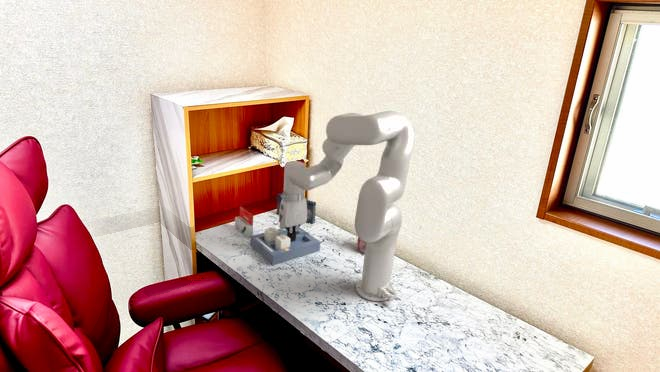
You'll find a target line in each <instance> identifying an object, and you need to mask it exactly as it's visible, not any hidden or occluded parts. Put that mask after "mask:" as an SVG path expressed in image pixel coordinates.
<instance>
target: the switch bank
mask: <svg viewBox="0 0 660 372" xmlns="http://www.w3.org/2000/svg"><path fill="white" fill-rule="evenodd" d="M276 229H277V230H278V231H279V236H280V234H282V235H284V234H285V235H286V236H287V230H286V229H281V228H276ZM264 237H265V232H262V233H257V234H253V236H250V238H249V239H250V243H249V246H250V247H251V248H252V249H254V250H255V251H256V252H257V253H258V254H259V255H261V257H263V258H264V259H265V260H266V261H267V262H268V263H270V264H271V265H272V266H276V265H278V264H282V263H285V262H288V261H291V260H294V259H297V258H301V257H304V256H308V255H311V254H315V253H318V252H320V251H321V241H320V240H319V239H318V238H316V237H314V236H313V235H312V234H310V233H309V232H308V231H306V230H304V229H303V228H302V227H301V226H300V227H299V228H298V231H296V241H293V242H291V241H290V247H287V248H284V249H281V250H276V249H275V241H271V242H267V243H266V242H265V241H264Z"/></svg>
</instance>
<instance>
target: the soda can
mask: <svg viewBox="0 0 660 372" xmlns="http://www.w3.org/2000/svg"><path fill="white" fill-rule="evenodd" d="M356 245H357V246H356V247H357V248H356V249H357V251H359V252H360V253H362V254H363V255H365V247H366V242H364V241H362V240H361V239H360V238H359V237H358V236H357V244H356Z"/></svg>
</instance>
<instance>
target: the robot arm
mask: <svg viewBox="0 0 660 372" xmlns="http://www.w3.org/2000/svg"><path fill="white" fill-rule="evenodd" d="M325 128H326V129H325V135H326V138H325V140H324V141H323V143H322V145H321V148H322V152H323V153H324V155H325V156H324V157H323V159H322V160H321V161H320V162H319V163H318V164H314V165H311V166H307V167H306V165H305V163H304V162H302V161H298V160H290V161H287V162H286V163H285V164H284V171H283V191H282V193H281V194H282V195H281V198H282V201H281V204H280V210H279V215H278V223H279V225H278V227H279V228H278V229H286V230H287V236H288V237H289V238H290V241H291V242H293V241H296V231H298V228H299V227H300V228H301V225H304V224H306V223H305V222H306V221H307V202H306V200H307V198H306V197H305V191H312V190H313V189H317V188H318V187H320V186H324V185H326V184H328V183H329V182H330V181H332V179H334V178H335V176H336V175H337V174H338V173H339V172H340V171H341V169H342V167H343V166H344V165H343V164H344V161H345V158H346V157H347V155H349V153H350V151H352V150H353V148H354V147H355V146H374V145H379V144H381V143H382V144H383V143H385V142H386V143H385V147H384V149H383V151H382V154H381V158H380V163H379V169H378V172H377V174H376V175H375V176H373V177H370V178H368V179H367V180H366V181H365V182H363V184H362V185H361V187H360V190H359V193H358V199H357V204H356V211H355V218H354V230H355V233H356V235H357V238H358V237H359V238H360V239H361V240H362V241H364V242H366V247H365V254H363V255H364V258H363V266H362V272H361V273H362V274H361V279H359V280H358V281H357V283H356V284H355V285H356V286H355V291H356V293H357V294H358V295H359V296H360V297H361V298H363V299H366V300H368V301H372V302H384V301H388V300H389V301H390V302H393V301H394V300H395V297H396V296H397V294H398V293H397V291H395V290H394V286H393V283H392V282H391V279H392V273H393V272H392V271H393V265H394V260H395V259H394V258H395V253H396V246H397V240H398V237H399V233H400V230H401V227H402V222H403V214H402V211H401V210H400V208H399V206H397V204H395V203H396V202H397V201H399V200H400V199H401V198H402V197H403V195H404V193H405V188H406V183H407V178H408V173H409V167H410V163H411V162H410V161H411V157H412V153H413V148H414V144H415V143H414V142H415V135H414V130H413V126H412V124H411V123H410V121H409V119H408V118H407V117H406V116H405V115H403V114H402V113H400V112H398V111H395V110H387V111H381V112H377V113H372V114H365V115H361V114H360V113H356V112H348V113H343V114H338V115H335V116H333V117H332V118H330V119H329V121H328V122H327V123H326V127H325Z"/></svg>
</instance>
